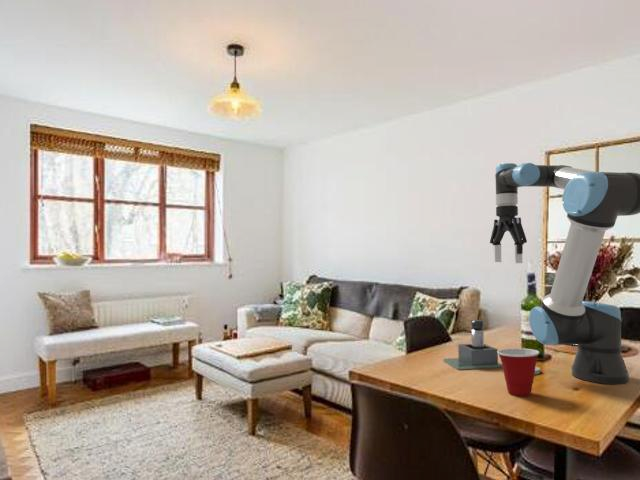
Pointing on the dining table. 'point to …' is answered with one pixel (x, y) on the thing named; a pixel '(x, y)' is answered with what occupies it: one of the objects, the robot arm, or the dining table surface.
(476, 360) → the block
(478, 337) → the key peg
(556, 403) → the dining table surface
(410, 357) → the dining table surface
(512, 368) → the plastic cup
